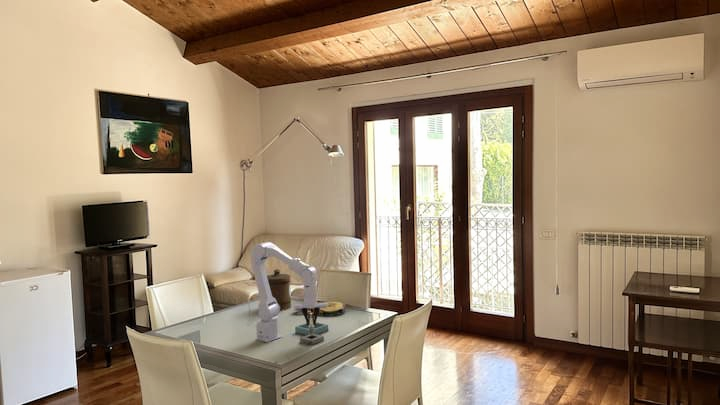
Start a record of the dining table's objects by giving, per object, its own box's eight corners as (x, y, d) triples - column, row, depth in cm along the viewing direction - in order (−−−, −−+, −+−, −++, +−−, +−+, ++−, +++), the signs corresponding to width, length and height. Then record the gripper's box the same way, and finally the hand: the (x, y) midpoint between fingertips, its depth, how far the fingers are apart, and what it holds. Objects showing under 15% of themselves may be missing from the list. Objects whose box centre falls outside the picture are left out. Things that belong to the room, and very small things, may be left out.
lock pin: (311, 332, 217) (310, 314, 216) (307, 331, 218) (306, 313, 218) (315, 330, 219) (315, 313, 218) (311, 329, 220) (310, 312, 220)
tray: (311, 337, 225) (311, 330, 225) (295, 332, 232) (295, 326, 232) (328, 330, 234) (328, 324, 233) (311, 327, 241) (311, 321, 240)
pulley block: (297, 297, 276) (350, 298, 270) (298, 307, 277) (350, 308, 271) (290, 308, 262) (344, 309, 257) (291, 318, 263) (345, 319, 258)
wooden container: (296, 306, 281) (295, 268, 280) (276, 312, 270) (274, 272, 269) (279, 303, 291) (278, 266, 290) (259, 308, 280) (258, 270, 279)
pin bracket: (312, 345, 213) (311, 340, 213) (300, 342, 218) (299, 337, 218) (323, 340, 219) (323, 336, 219) (311, 337, 224) (311, 333, 224)
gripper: (293, 297, 213) (294, 328, 214) (326, 295, 215) (327, 326, 215) (294, 293, 220) (295, 323, 221) (326, 292, 222) (327, 321, 222)
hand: (311, 324), depth 218 cm, fingers closed on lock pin, 3 cm apart
